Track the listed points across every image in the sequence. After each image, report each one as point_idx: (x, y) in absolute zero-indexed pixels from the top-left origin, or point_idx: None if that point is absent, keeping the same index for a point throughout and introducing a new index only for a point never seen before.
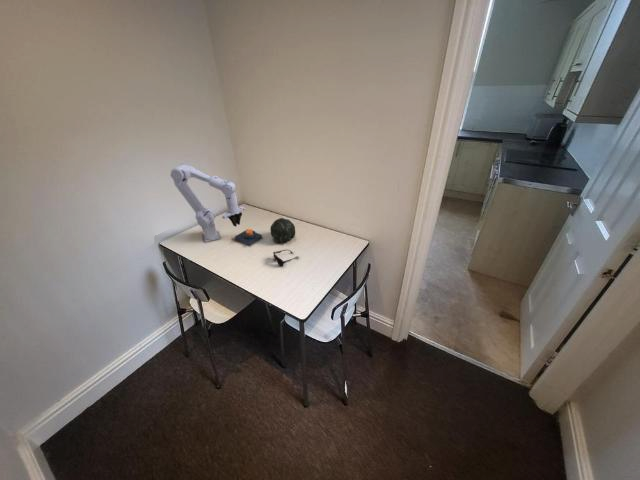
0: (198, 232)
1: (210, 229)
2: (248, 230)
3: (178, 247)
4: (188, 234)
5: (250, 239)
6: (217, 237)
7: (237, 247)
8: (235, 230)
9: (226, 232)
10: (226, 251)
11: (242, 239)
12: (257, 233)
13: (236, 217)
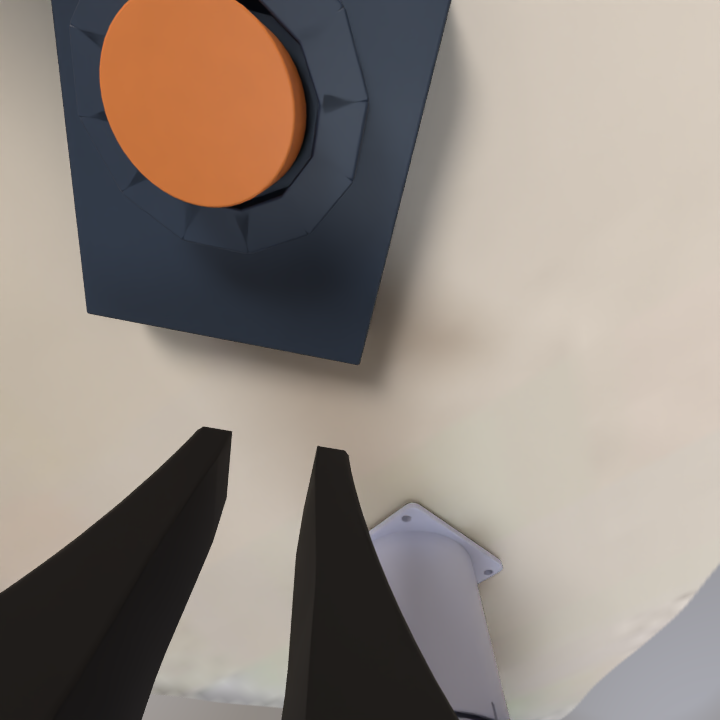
0: None
1: (476, 672)
2: (188, 144)
3: (613, 649)
4: None
5: (344, 5)
6: (406, 522)
7: (533, 188)
8: None
9: (270, 507)
10: (655, 276)
11: (402, 187)
12: (62, 3)
13: (120, 714)
